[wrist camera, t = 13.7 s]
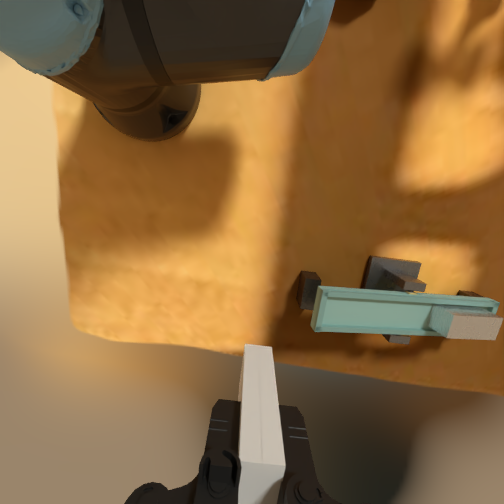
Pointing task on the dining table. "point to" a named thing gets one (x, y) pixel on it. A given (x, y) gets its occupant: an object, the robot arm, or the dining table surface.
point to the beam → (383, 310)
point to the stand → (374, 284)
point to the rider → (464, 322)
